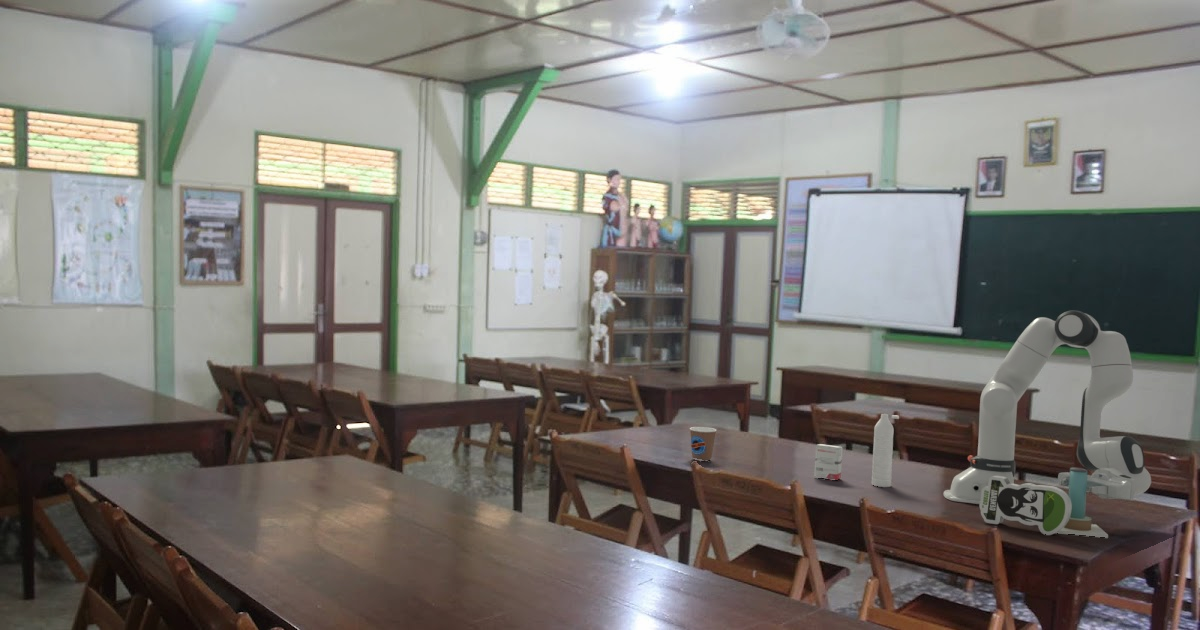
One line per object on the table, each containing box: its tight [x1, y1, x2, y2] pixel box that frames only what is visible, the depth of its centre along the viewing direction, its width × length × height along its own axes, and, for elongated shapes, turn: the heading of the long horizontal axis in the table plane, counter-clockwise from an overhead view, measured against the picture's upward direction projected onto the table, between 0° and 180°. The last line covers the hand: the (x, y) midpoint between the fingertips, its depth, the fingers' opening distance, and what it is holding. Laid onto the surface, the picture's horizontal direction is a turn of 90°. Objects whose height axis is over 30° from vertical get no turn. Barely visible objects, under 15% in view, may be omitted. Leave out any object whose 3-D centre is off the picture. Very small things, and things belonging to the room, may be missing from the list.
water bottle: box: [871, 413, 900, 488], centre depth 326 cm, size 9×6×25 cm
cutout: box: [978, 476, 1072, 536], centre depth 273 cm, size 15×3×25 cm
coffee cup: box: [689, 426, 717, 460], centre depth 362 cm, size 10×10×12 cm
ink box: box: [813, 443, 843, 481], centre depth 336 cm, size 9×5×12 cm, turn 58°
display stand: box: [1056, 515, 1109, 539], centre depth 274 cm, size 14×12×4 cm
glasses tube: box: [1068, 467, 1089, 519], centre depth 274 cm, size 5×5×14 cm
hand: (1076, 486), depth 273 cm, fingers open, 8 cm apart
